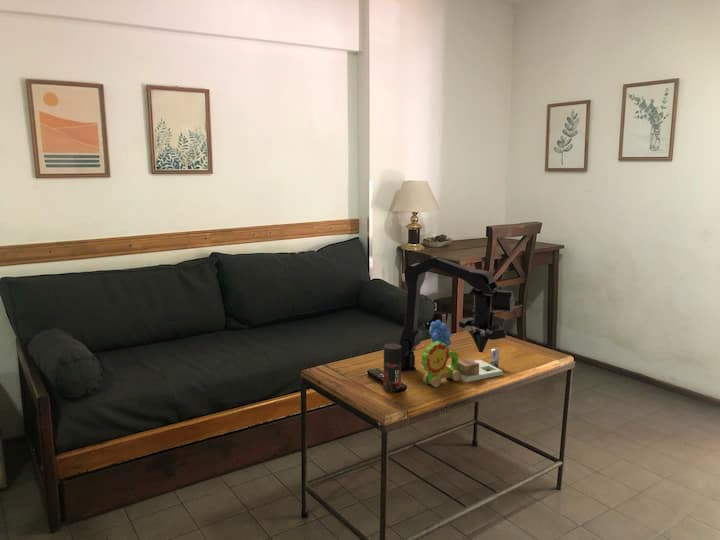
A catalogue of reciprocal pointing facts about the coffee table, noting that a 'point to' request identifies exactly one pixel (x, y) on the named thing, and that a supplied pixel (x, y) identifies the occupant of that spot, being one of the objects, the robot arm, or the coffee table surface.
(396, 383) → the deodorant
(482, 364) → the board
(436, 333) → the grapes
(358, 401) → the coffee table surface
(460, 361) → the brown wooden block
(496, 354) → the pin
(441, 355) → the toy lion
